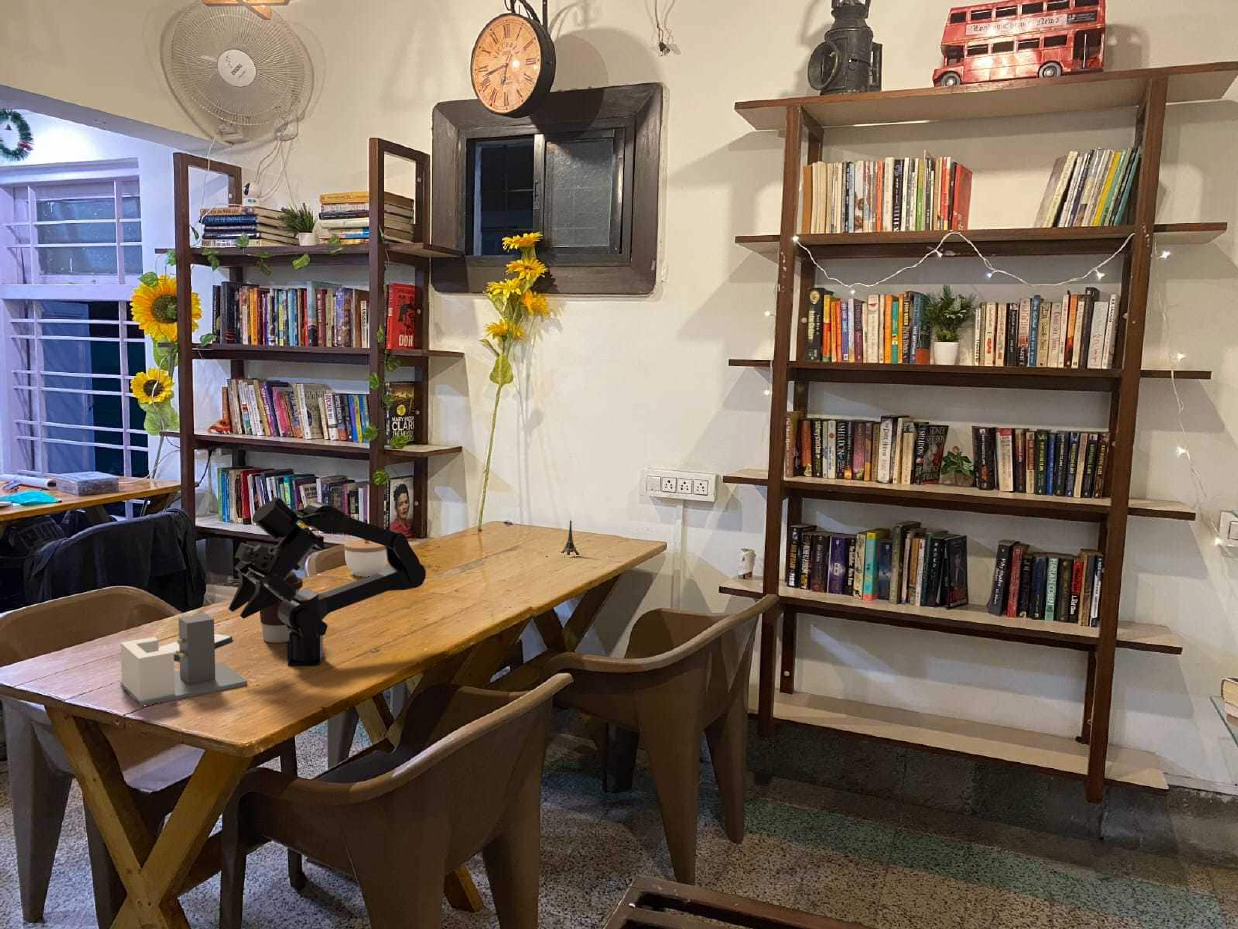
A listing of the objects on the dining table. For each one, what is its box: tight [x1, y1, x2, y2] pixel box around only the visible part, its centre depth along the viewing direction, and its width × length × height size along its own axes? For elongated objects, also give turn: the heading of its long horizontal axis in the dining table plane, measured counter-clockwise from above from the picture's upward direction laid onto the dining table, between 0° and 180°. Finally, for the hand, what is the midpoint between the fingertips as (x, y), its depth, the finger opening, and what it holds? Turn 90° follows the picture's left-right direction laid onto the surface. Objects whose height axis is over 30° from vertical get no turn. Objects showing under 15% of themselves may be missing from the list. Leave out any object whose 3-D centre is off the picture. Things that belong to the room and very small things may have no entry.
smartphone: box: [158, 633, 233, 661], centre depth 206 cm, size 9×2×16 cm
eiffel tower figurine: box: [560, 519, 580, 555], centre depth 310 cm, size 15×10×13 cm
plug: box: [175, 613, 216, 684], centre depth 183 cm, size 6×5×12 cm
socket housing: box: [120, 636, 248, 707], centre depth 182 cm, size 19×14×9 cm
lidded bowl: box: [343, 539, 388, 578], centre depth 277 cm, size 13×13×11 cm
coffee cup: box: [259, 571, 304, 644], centre depth 213 cm, size 10×10×15 cm
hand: (236, 613), depth 188 cm, fingers open, 6 cm apart
